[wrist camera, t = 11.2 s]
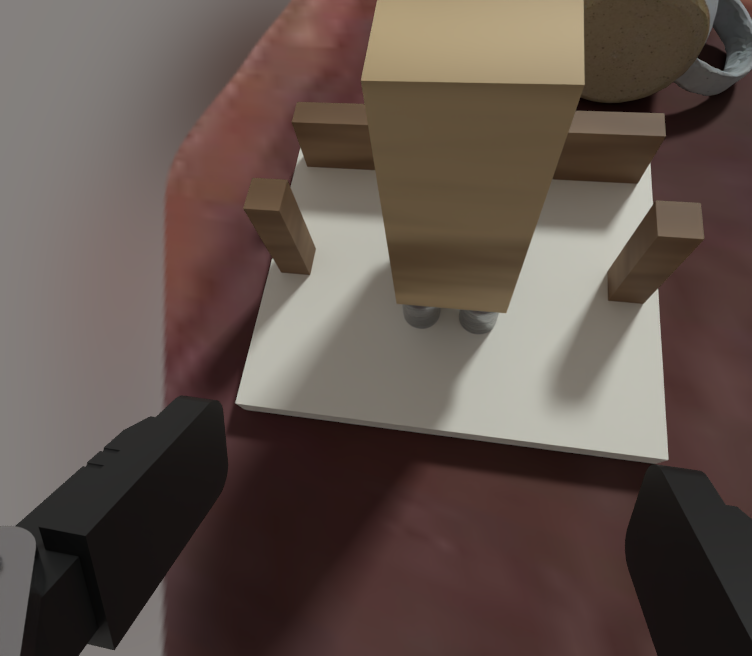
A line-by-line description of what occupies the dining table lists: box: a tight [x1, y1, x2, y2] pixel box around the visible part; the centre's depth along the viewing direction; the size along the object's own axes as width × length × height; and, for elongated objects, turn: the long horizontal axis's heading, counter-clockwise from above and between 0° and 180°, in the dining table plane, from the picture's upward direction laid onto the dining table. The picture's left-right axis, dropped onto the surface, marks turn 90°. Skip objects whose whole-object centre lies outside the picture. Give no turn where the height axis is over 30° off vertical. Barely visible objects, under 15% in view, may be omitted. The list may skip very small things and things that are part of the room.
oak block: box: [361, 0, 585, 313], centre depth 15 cm, size 6×4×10 cm, turn 172°
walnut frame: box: [243, 102, 704, 304], centre depth 21 cm, size 7×16×5 cm, turn 81°
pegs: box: [402, 304, 499, 334], centre depth 21 cm, size 6×4×3 cm
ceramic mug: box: [581, 0, 752, 103], centre depth 24 cm, size 11×8×8 cm
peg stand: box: [235, 148, 668, 464], centre depth 23 cm, size 14×17×1 cm
